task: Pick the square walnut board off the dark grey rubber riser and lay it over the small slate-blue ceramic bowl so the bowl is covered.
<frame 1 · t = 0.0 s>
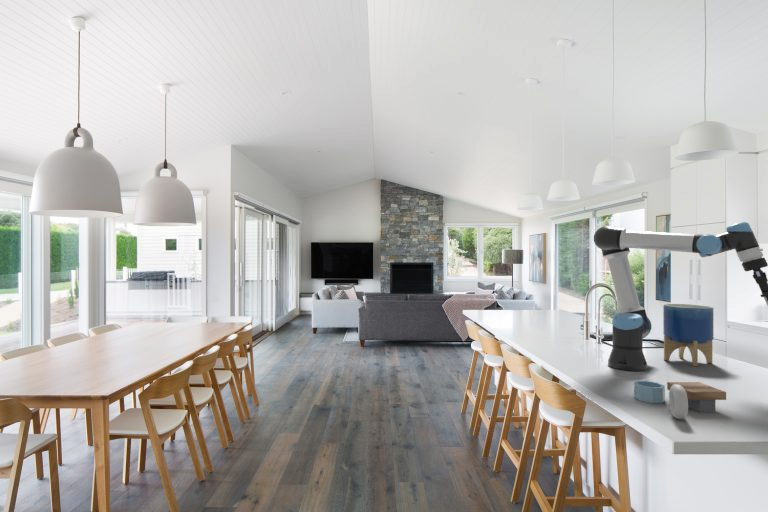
donut: (678, 419, 129), on the table
board: (695, 394, 140), point 4 cm above the table, touching riser
riser: (695, 406, 140), on the table
planter: (687, 362, 203), on the table
bowl: (649, 398, 147), on the table
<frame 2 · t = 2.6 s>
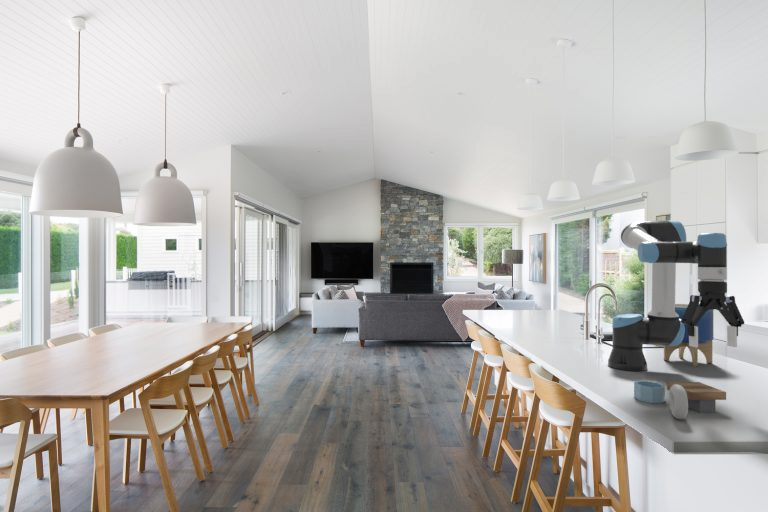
hand: (712, 346, 140), 20 cm above the table, tool pointing down, fingers open, 13 cm apart
nothing on the table moved.
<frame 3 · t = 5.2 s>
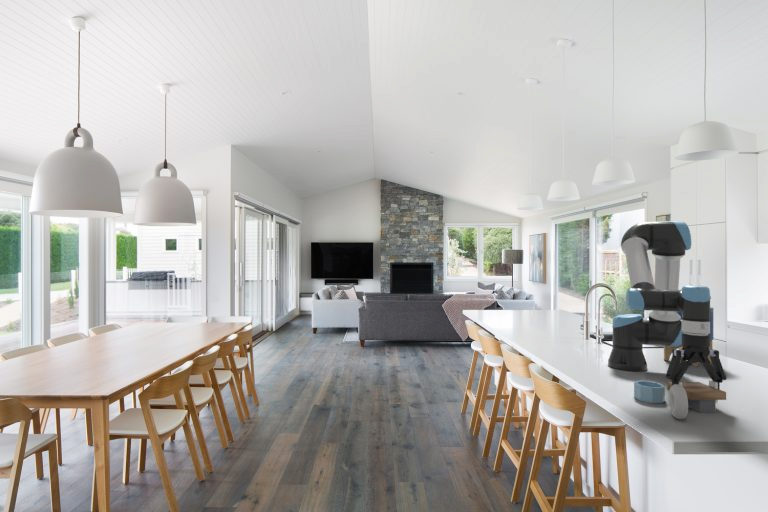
hand: (695, 401, 140), 2 cm above the table, tool pointing down, fingers closed on board, 11 cm apart
board: (695, 394, 140), point 4 cm above the table, touching gripper, riser
everything else where it was.
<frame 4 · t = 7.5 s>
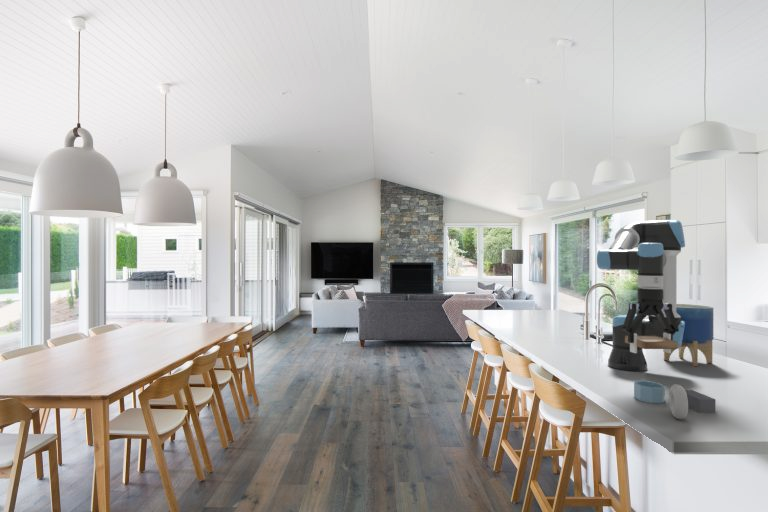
hand: (650, 352, 147), 16 cm above the table, tool pointing down, fingers closed on board, 11 cm apart
board: (650, 345, 147), point 18 cm above the table, touching gripper
everything else where it was.
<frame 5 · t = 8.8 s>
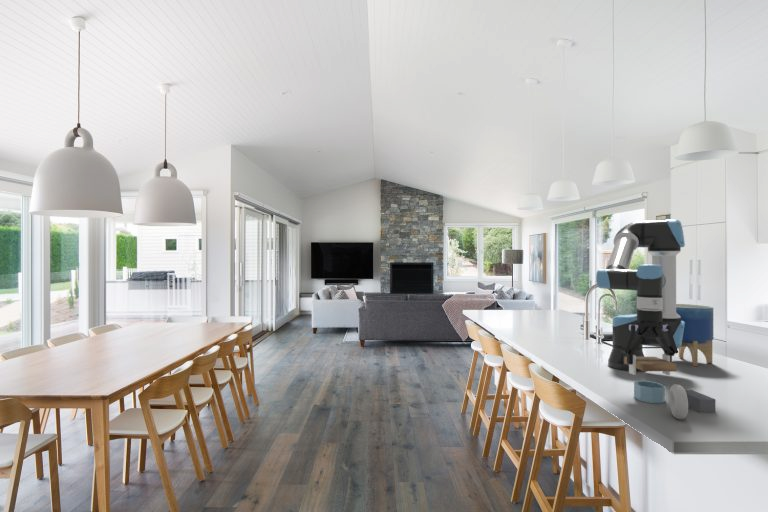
hand: (649, 374, 147), 8 cm above the table, tool pointing down, fingers closed on board, 11 cm apart
board: (649, 367, 147), point 11 cm above the table, touching gripper
everything else where it was.
when the fingers open (5 cm above the table, at t = 10.0 s): board drops 3 cm, resting on bowl.
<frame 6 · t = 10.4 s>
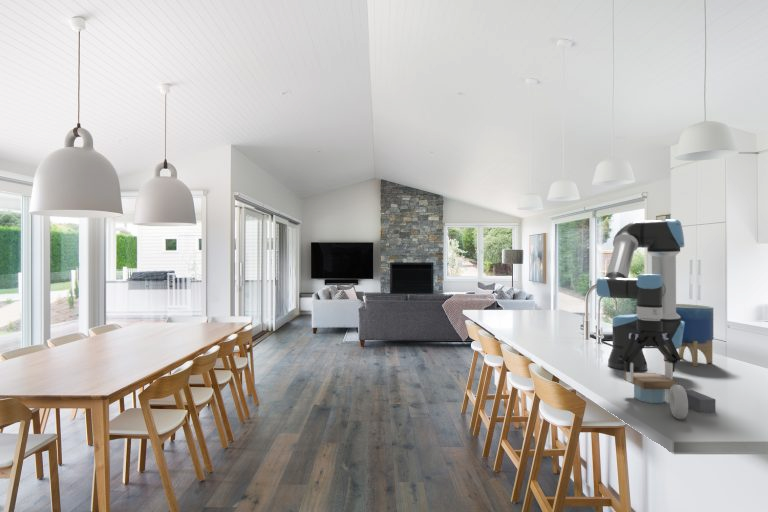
hand: (649, 381, 147), 6 cm above the table, tool pointing down, fingers open, 13 cm apart
board: (649, 384, 147), point 5 cm above the table, touching bowl
everything else where it was.
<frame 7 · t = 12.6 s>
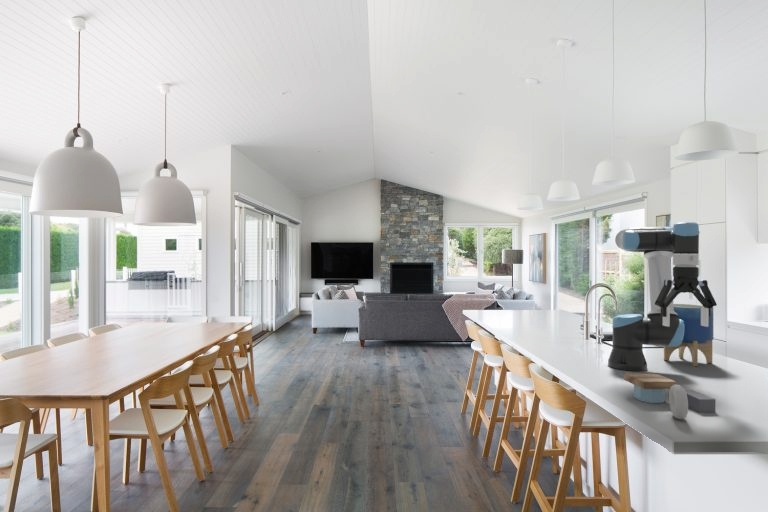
hand: (685, 326, 153), 24 cm above the table, tool pointing down, fingers open, 13 cm apart
nothing on the table moved.
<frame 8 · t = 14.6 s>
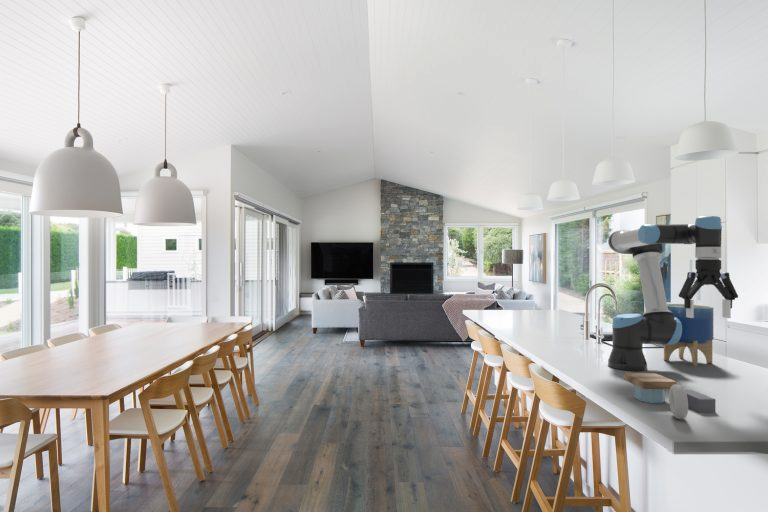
hand: (708, 317, 157), 27 cm above the table, tool pointing down, fingers open, 13 cm apart
nothing on the table moved.
at the end: board 0.1 cm off-centre on the bowl, point 5.0 cm above the bowl's base; board tilted 0°; the gripper is holding nothing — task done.
